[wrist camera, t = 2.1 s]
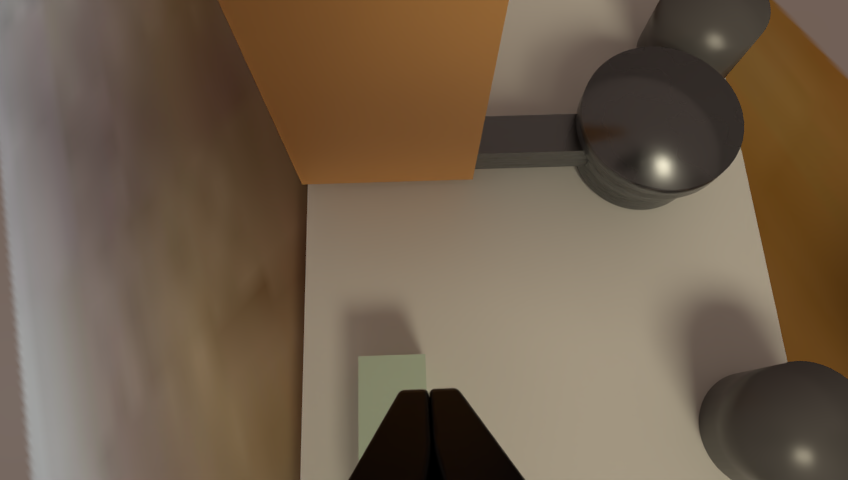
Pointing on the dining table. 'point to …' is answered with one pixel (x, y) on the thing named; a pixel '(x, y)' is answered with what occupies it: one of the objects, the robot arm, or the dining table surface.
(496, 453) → the robot arm
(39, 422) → the dining table surface
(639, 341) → the base plate
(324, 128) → the brown piece
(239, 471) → the dining table surface
